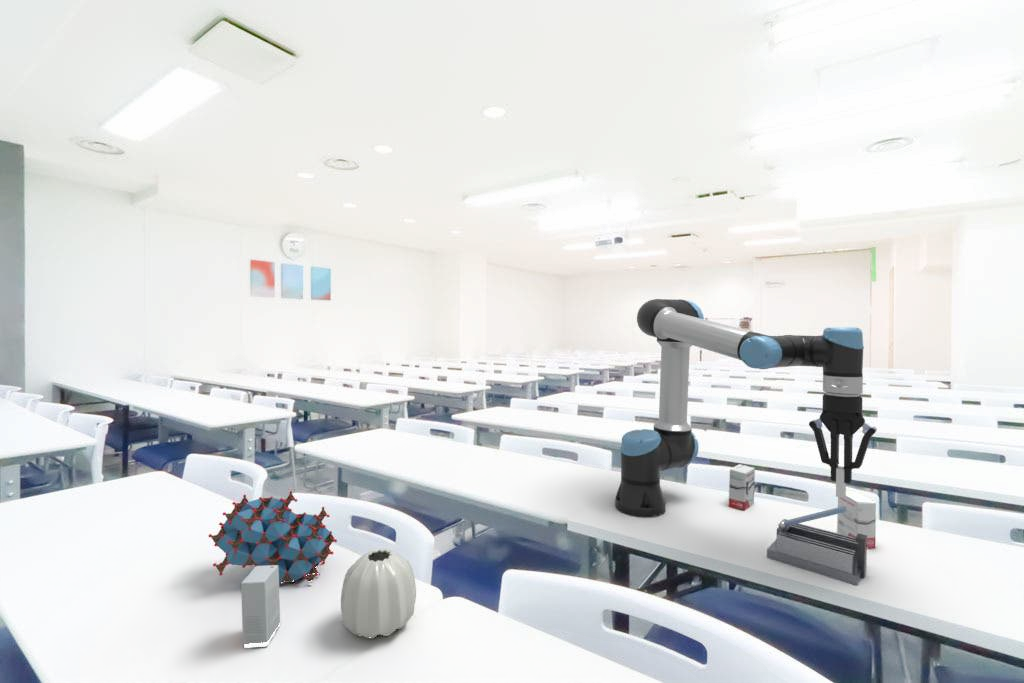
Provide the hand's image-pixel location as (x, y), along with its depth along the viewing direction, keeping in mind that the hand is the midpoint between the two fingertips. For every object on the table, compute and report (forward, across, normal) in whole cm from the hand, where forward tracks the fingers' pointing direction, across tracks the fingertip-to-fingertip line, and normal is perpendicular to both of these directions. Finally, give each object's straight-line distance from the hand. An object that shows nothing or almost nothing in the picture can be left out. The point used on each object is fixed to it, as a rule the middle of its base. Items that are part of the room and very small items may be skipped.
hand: (840, 495), depth 109 cm
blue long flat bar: (+7, -5, 0) cm, 9 cm away
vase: (+17, -59, -85) cm, 105 cm away
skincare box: (+17, -71, -102) cm, 125 cm away
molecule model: (+17, -92, -92) cm, 131 cm away
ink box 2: (+17, 0, +20) cm, 27 cm away
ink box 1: (+17, -30, +25) cm, 43 cm away
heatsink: (+17, -5, 0) cm, 18 cm away
